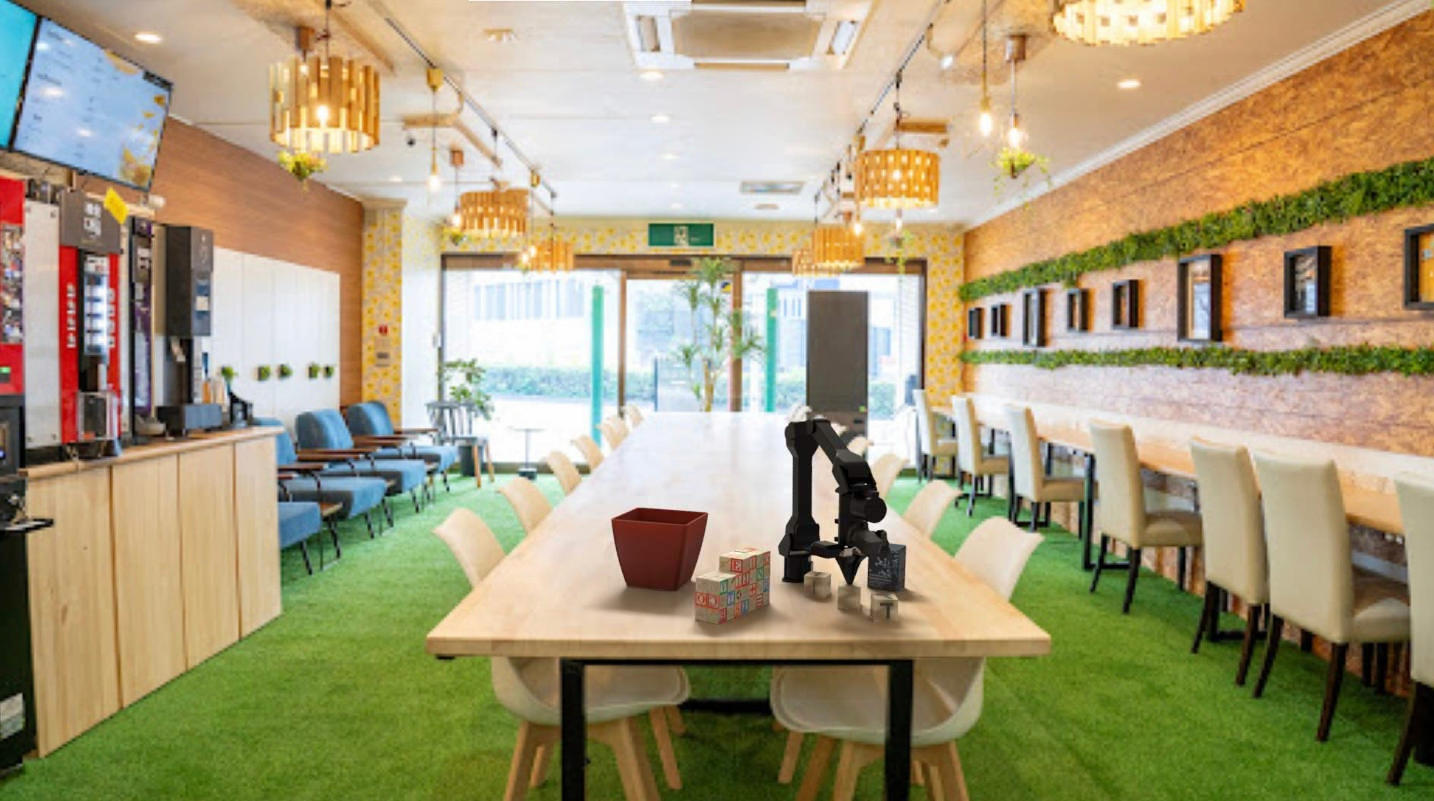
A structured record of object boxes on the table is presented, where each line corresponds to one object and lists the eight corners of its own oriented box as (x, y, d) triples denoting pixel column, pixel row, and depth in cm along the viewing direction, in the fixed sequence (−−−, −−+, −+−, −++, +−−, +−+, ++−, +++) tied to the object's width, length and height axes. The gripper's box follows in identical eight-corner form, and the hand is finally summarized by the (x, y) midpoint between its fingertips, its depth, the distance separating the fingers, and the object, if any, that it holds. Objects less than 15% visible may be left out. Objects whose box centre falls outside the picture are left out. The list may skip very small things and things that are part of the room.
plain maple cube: (837, 608, 213) (837, 586, 212) (838, 602, 218) (838, 580, 217) (860, 609, 212) (860, 587, 212) (860, 603, 217) (861, 582, 216)
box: (866, 587, 231) (867, 544, 231) (874, 582, 236) (875, 540, 236) (897, 592, 227) (899, 548, 227) (905, 587, 232) (906, 544, 232)
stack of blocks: (718, 625, 199) (719, 566, 198) (694, 620, 202) (695, 562, 201) (770, 603, 217) (771, 549, 216) (746, 598, 220) (747, 545, 219)
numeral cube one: (803, 596, 223) (803, 575, 222) (810, 591, 228) (811, 570, 227) (823, 598, 221) (824, 577, 220) (830, 593, 226) (831, 572, 225)
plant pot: (708, 577, 239) (709, 511, 238) (685, 596, 220) (686, 524, 219) (636, 571, 244) (637, 506, 243) (608, 589, 226) (609, 519, 225)
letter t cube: (874, 622, 202) (874, 599, 202) (870, 615, 208) (870, 592, 207) (897, 622, 203) (898, 599, 202) (893, 615, 208) (893, 593, 207)
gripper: (842, 525, 202) (840, 597, 203) (907, 517, 212) (905, 587, 213) (809, 516, 211) (808, 586, 212) (873, 510, 221) (871, 576, 222)
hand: (849, 584), depth 214 cm, fingers closed, pressing on plain maple cube
